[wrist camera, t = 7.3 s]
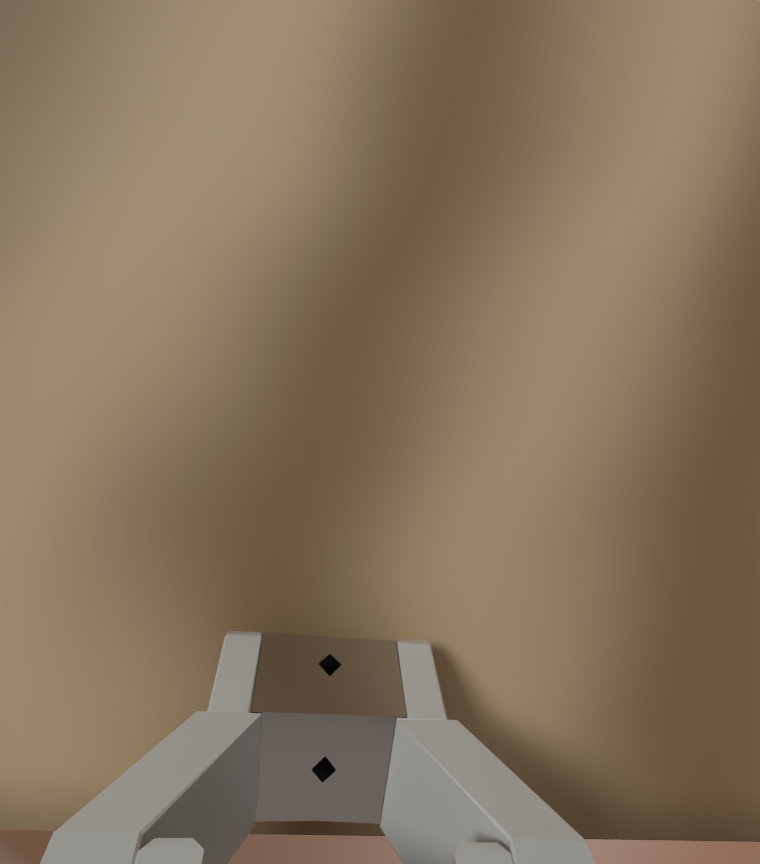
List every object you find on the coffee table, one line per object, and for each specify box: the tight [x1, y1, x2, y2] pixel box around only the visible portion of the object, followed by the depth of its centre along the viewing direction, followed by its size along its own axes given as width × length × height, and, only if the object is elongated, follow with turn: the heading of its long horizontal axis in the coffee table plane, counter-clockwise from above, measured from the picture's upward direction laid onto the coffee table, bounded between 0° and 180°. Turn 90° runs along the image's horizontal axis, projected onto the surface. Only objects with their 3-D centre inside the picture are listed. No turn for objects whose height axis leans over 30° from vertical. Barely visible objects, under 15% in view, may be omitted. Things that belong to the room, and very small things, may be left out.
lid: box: [0, 0, 760, 842], centre depth 10 cm, size 18×13×1 cm
